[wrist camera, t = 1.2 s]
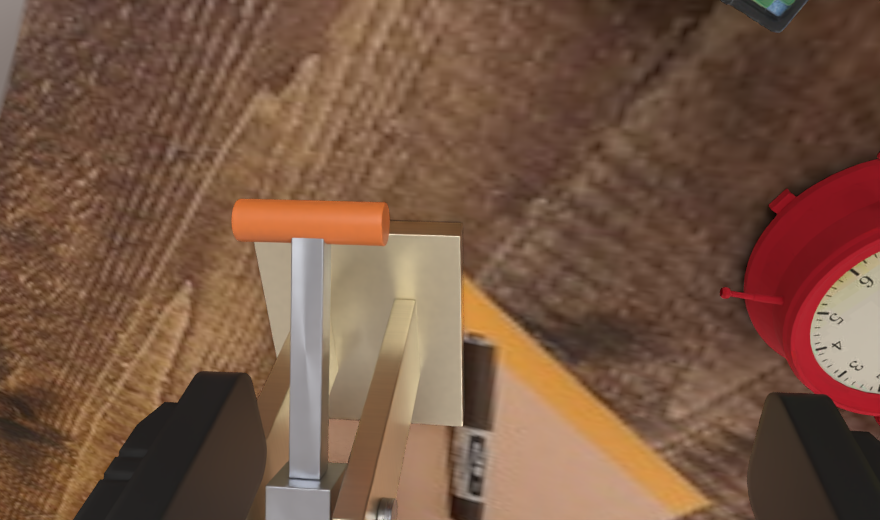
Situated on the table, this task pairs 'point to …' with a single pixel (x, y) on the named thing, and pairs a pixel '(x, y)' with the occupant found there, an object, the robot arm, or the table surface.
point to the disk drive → (769, 11)
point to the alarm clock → (823, 286)
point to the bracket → (374, 355)
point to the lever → (309, 336)
